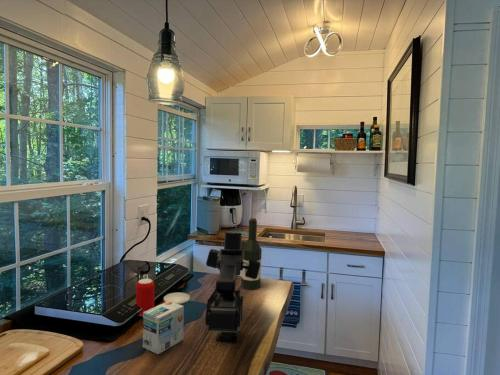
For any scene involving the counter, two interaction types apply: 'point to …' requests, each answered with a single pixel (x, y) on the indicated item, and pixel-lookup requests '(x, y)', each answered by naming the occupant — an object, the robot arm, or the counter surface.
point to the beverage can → (145, 295)
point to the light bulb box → (163, 326)
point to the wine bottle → (251, 257)
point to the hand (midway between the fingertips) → (234, 263)
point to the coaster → (177, 298)
